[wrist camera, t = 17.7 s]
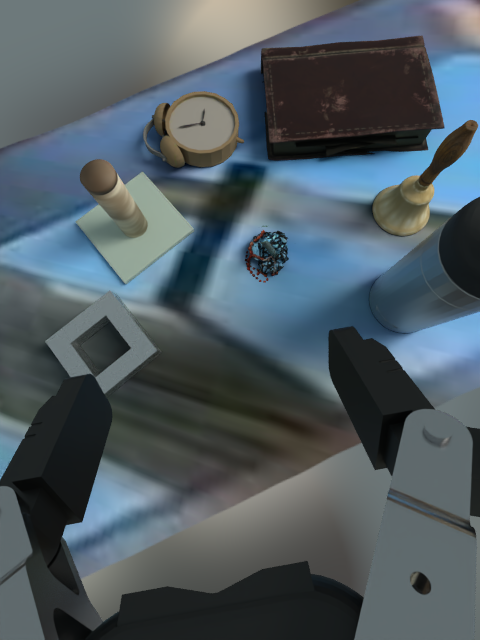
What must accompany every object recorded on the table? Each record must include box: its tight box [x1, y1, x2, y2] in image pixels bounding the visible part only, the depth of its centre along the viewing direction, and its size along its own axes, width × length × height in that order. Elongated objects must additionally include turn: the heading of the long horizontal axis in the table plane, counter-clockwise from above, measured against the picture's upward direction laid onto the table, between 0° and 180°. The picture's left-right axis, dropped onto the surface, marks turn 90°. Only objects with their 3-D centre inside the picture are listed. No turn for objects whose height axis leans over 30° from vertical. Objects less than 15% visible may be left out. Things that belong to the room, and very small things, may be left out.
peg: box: [80, 159, 148, 238], centre depth 43 cm, size 4×4×12 cm
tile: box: [76, 172, 194, 284], centre depth 49 cm, size 13×13×1 cm
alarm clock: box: [143, 91, 244, 168], centre depth 50 cm, size 11×5×15 cm
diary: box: [261, 36, 444, 161], centre depth 50 cm, size 19×25×5 cm
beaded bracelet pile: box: [245, 226, 289, 283], centre depth 47 cm, size 8×7×8 cm
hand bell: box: [373, 120, 478, 236], centre depth 40 cm, size 8×8×16 cm
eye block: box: [45, 291, 162, 398], centre depth 44 cm, size 11×11×2 cm
